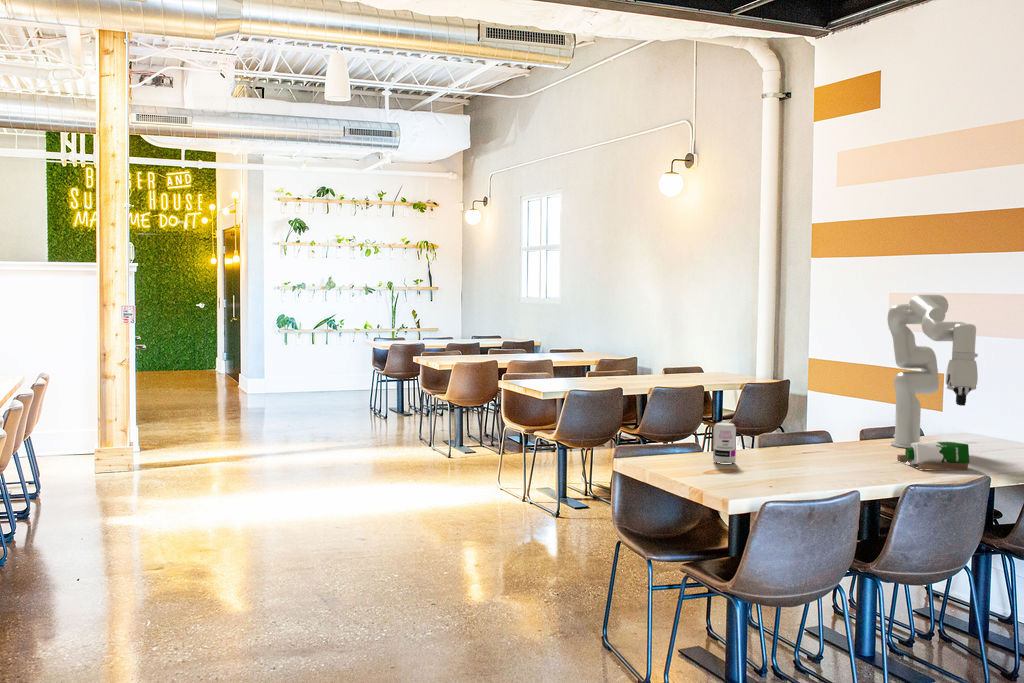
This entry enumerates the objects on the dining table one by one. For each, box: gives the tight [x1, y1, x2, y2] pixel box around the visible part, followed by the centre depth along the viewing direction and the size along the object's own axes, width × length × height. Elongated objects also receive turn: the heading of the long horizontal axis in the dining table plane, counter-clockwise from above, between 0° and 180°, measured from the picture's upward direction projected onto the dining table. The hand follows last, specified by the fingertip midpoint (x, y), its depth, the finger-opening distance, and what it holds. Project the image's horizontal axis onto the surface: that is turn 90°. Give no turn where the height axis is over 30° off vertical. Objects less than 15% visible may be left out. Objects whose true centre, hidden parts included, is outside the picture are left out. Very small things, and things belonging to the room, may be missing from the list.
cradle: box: [896, 454, 969, 471], centre depth 321 cm, size 17×18×2 cm
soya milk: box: [904, 441, 970, 465], centre depth 319 cm, size 9×9×20 cm
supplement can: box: [712, 422, 737, 463], centre depth 325 cm, size 8×8×15 cm
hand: (960, 404), depth 321 cm, fingers closed
